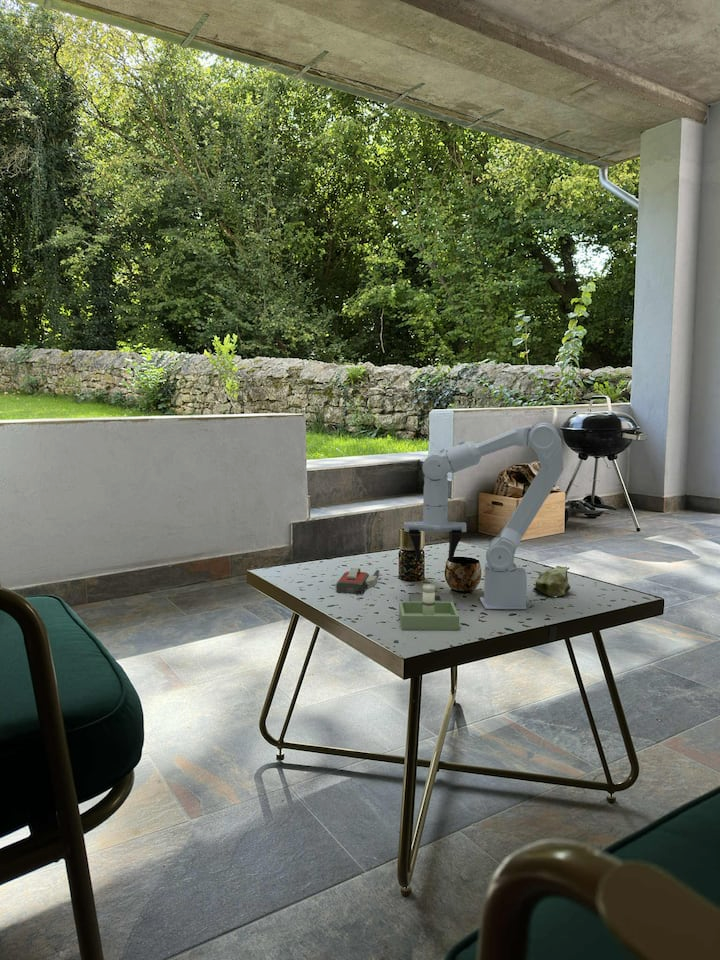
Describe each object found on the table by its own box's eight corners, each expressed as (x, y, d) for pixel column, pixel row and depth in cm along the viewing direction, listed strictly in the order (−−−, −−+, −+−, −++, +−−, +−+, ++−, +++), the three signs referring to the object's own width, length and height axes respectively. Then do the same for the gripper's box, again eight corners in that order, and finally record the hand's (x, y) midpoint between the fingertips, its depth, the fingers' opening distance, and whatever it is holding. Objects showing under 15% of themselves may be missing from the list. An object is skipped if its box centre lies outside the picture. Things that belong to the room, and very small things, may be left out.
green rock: (559, 592, 184) (568, 563, 182) (572, 606, 175) (580, 576, 173) (525, 586, 183) (533, 556, 182) (535, 600, 174) (544, 569, 172)
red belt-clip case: (369, 598, 175) (381, 576, 195) (369, 580, 175) (381, 560, 194) (334, 595, 177) (349, 574, 196) (334, 578, 176) (349, 558, 196)
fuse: (433, 617, 158) (434, 584, 157) (435, 621, 155) (435, 587, 154) (421, 617, 158) (422, 584, 157) (422, 621, 155) (423, 587, 154)
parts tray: (452, 614, 161) (452, 601, 161) (458, 630, 152) (459, 616, 151) (399, 614, 161) (399, 601, 161) (401, 629, 151) (402, 616, 151)
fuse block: (451, 601, 171) (451, 593, 171) (455, 611, 164) (455, 602, 164) (409, 601, 171) (409, 593, 171) (411, 611, 164) (411, 602, 164)
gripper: (405, 507, 166) (405, 565, 168) (469, 507, 166) (467, 565, 168) (403, 502, 173) (403, 557, 175) (464, 502, 173) (462, 558, 175)
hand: (434, 561), depth 172 cm, fingers open, 7 cm apart
